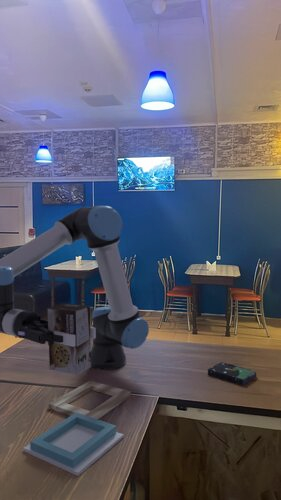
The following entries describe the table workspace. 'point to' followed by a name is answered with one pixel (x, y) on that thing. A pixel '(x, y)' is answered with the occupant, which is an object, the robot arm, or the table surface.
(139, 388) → the table surface
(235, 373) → the disk drive
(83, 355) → the coffee box
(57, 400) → the birch frame
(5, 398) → the table surface
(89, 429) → the teal white square frame
